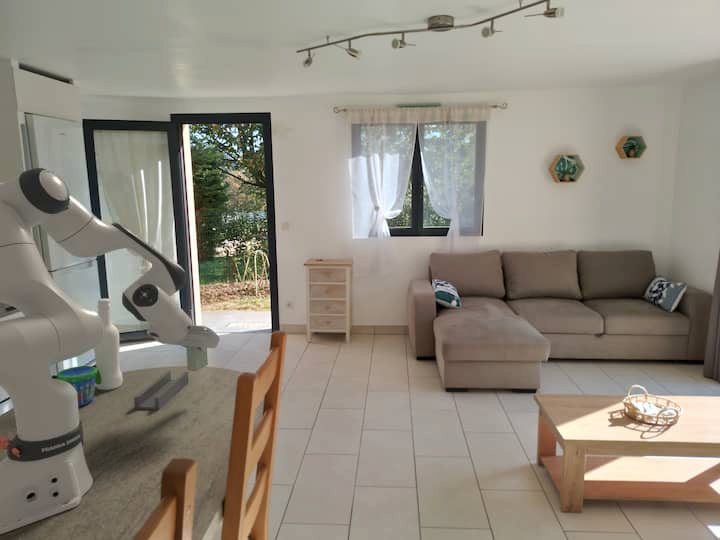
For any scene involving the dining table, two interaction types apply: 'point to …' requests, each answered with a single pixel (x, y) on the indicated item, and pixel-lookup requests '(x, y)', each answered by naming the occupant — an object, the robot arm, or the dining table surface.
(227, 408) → the dining table surface
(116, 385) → the bottle
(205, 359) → the door panel
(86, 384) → the snack cup
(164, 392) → the track
